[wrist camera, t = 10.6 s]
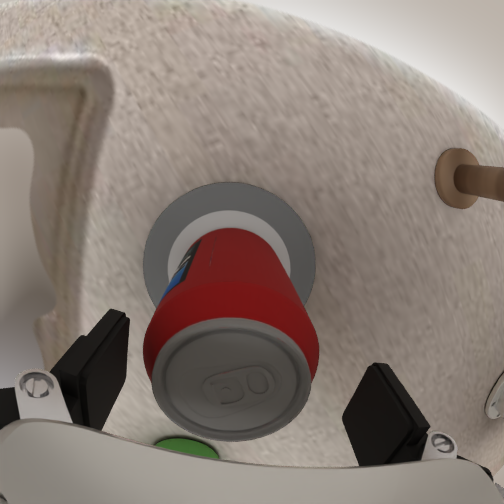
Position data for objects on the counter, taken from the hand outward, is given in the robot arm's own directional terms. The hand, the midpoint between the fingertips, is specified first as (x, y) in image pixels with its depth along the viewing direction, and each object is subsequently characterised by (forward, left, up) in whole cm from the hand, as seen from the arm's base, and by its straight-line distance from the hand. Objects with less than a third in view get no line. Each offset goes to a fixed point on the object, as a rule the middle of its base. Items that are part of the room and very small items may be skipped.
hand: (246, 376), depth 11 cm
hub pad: (+1, -1, -12) cm, 12 cm away
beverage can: (0, 0, -11) cm, 11 cm away
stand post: (-19, -3, -12) cm, 23 cm away
